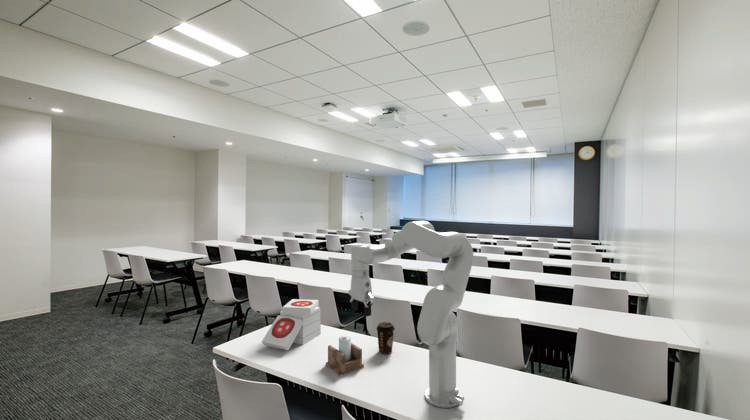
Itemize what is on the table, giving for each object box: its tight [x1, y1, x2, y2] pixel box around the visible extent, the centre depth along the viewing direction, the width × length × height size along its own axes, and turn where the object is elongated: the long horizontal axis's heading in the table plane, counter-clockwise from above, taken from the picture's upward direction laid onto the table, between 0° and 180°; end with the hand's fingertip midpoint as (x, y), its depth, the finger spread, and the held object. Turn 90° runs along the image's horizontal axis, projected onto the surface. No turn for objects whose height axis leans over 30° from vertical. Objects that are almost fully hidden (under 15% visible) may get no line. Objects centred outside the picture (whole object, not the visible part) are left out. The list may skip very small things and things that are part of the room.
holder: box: [325, 342, 365, 377], centre depth 142 cm, size 12×12×8 cm
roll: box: [338, 335, 352, 363], centre depth 142 cm, size 5×5×11 cm
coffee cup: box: [376, 321, 396, 355], centre depth 156 cm, size 9×8×13 cm
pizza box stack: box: [261, 298, 322, 351], centre depth 169 cm, size 19×30×18 cm, turn 154°
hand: (361, 313), depth 141 cm, fingers open, 9 cm apart
